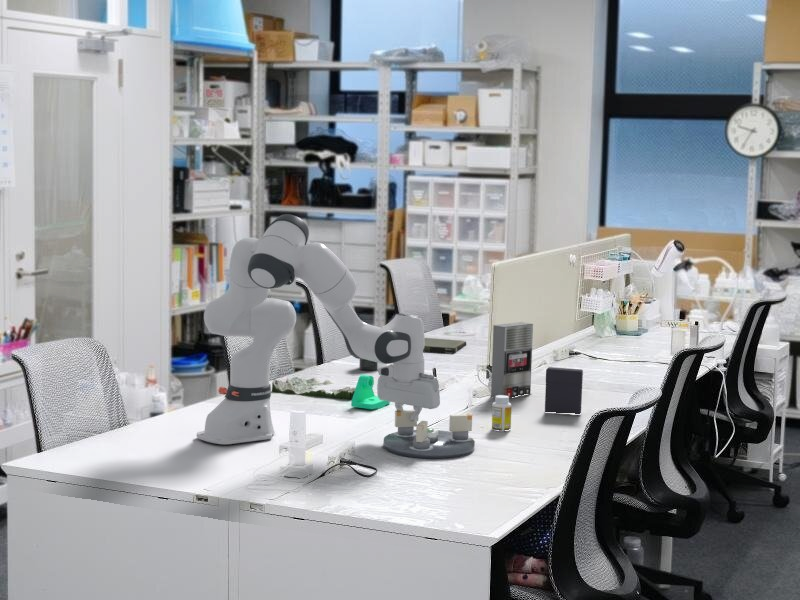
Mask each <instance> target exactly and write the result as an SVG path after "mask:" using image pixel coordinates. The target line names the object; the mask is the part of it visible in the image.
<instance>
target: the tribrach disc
mask: <svg viewBox="0 0 800 600" xmlns="http://www.w3.org/2000/svg"><path fill="white" fill-rule="evenodd" d="M414 438H416V429H414V433H413V434H412V435H400V434H398V431H396V432H392V433H389V434H387V435H386V436H384V437H383V443H382V444H383V445H382V446H383V449H384V450H385V451H387V452H388V453H390V454H393V455H396V456H400V457H406V458H411V459H421V460H422V459H423V460H424V459H425V460H444V459H445V460H446V459H447V460H448V459H455V458H461V457H465V456H468V455H470V453H471V454H473V453H474V451H475V440H474V439H473V438H472V437H471V436H469V435H468V439H465V440H457V439H453V438H452V432H451V431H449V430H437V429H434V428H431V427H427V438H428V439H430V448H427V449H418V448H414V447H413V439H414Z"/></svg>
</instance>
